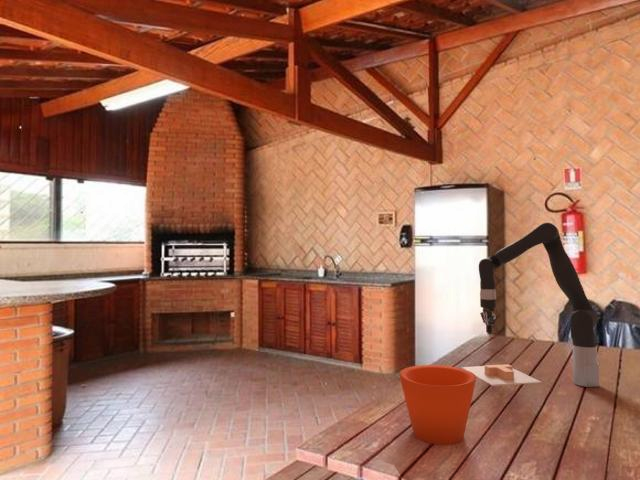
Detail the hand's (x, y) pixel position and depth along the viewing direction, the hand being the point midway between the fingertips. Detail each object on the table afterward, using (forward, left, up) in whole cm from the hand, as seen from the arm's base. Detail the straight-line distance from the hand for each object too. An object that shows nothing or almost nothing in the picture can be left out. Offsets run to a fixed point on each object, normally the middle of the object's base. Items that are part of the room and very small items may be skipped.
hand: (489, 332), depth 226 cm
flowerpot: (-69, +55, -19) cm, 90 cm away
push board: (-9, 0, -19) cm, 21 cm away
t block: (-13, +1, -18) cm, 23 cm away
